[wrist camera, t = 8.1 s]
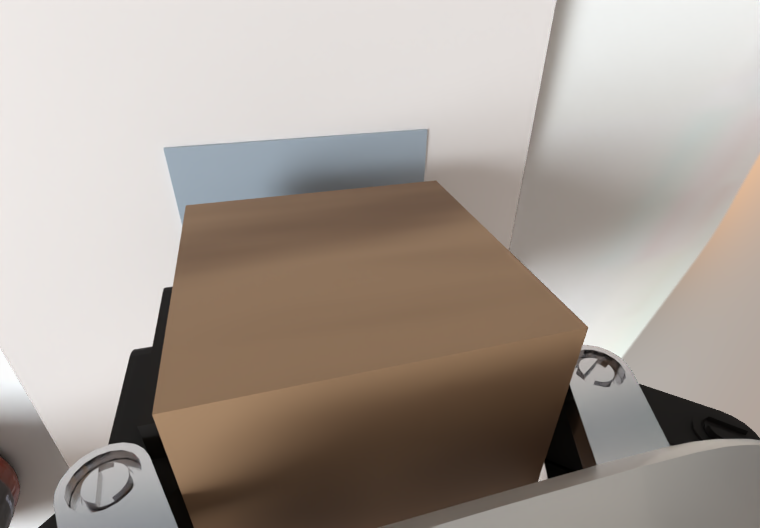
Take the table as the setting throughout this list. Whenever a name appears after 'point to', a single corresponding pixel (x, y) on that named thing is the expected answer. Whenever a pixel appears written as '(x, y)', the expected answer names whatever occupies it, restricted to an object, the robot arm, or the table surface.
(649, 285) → the table surface
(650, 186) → the table surface
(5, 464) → the supplement bottle
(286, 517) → the walnut cube
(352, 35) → the plate
